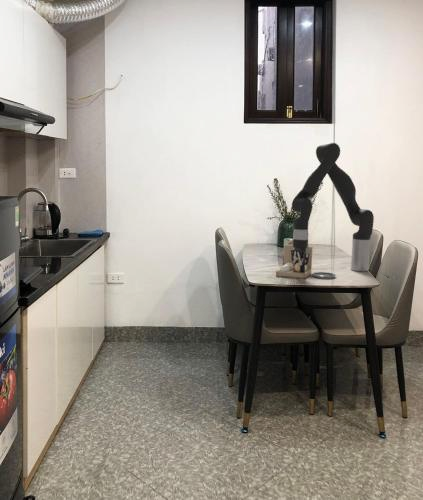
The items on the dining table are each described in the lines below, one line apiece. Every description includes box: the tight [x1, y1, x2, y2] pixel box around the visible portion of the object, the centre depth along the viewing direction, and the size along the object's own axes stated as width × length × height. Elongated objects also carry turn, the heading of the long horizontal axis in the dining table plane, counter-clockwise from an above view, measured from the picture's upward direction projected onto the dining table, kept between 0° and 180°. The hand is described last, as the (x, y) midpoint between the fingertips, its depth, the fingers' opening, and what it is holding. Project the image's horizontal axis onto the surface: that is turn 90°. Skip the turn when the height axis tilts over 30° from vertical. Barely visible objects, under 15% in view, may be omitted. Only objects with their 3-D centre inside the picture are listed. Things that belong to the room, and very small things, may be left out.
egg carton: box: [275, 244, 313, 280], centre depth 247 cm, size 15×15×14 cm
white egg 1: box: [280, 264, 291, 272], centre depth 245 cm, size 5×5×5 cm
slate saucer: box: [311, 271, 336, 280], centre depth 244 cm, size 11×11×1 cm
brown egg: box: [294, 263, 300, 272], centre depth 242 cm, size 5×5×5 cm
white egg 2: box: [285, 262, 294, 270], centre depth 252 cm, size 5×5×5 cm
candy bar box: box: [282, 238, 293, 266], centre depth 263 cm, size 11×5×16 cm, turn 40°
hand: (299, 271), depth 243 cm, fingers closed on brown egg, 5 cm apart
